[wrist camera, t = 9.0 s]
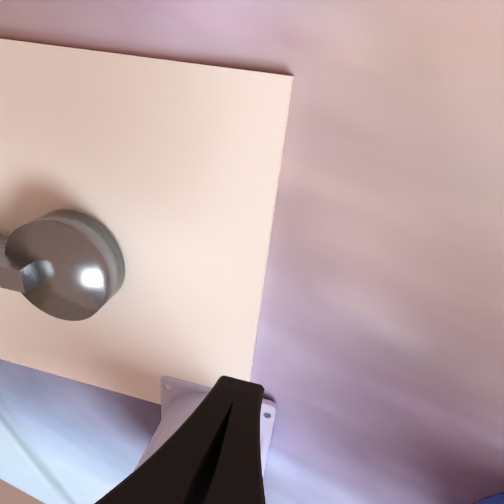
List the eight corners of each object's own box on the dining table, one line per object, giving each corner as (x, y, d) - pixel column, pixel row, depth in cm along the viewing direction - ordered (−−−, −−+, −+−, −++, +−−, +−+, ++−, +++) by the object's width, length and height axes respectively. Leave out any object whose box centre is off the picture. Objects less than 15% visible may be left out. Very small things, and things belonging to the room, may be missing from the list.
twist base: (244, 422, 26) (242, 429, 26) (-25, 346, 30) (-32, 351, 29) (294, 75, 16) (292, 76, 15) (-126, 22, 20) (-139, 21, 19)
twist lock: (121, 219, 20) (84, 244, 18) (128, 309, 23) (98, 343, 20) (-78, 183, 23) (-139, 200, 20) (-49, 269, 25) (-99, 295, 23)
